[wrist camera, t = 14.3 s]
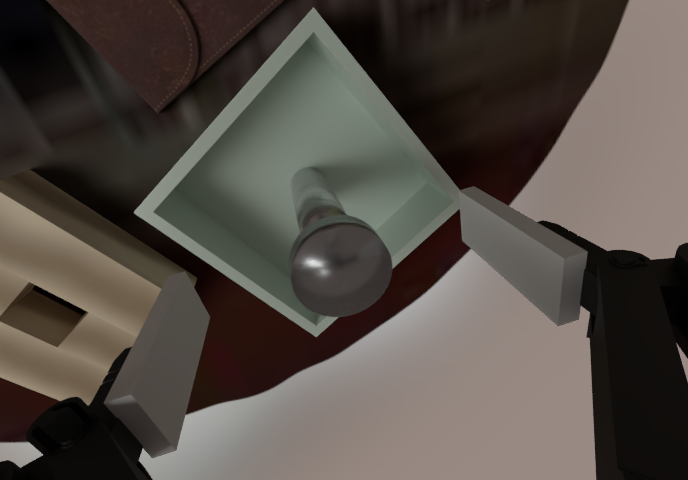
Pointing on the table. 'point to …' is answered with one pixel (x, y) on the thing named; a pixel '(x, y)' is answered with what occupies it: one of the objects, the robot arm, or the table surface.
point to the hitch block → (68, 289)
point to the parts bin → (289, 157)
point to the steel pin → (334, 252)
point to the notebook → (163, 38)
